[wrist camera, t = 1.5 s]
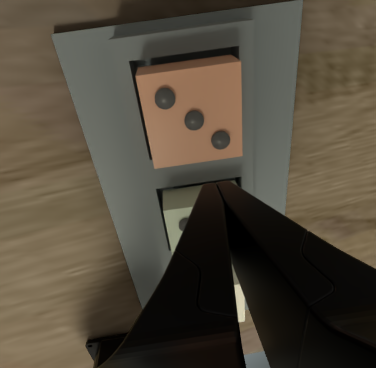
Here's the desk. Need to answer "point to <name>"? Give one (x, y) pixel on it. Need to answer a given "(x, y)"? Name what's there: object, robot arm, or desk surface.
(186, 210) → the tile
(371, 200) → the desk surface
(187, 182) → the board
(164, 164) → the tile
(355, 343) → the robot arm
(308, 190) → the desk surface
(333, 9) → the desk surface
